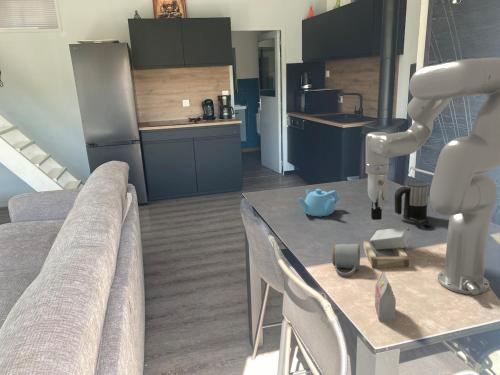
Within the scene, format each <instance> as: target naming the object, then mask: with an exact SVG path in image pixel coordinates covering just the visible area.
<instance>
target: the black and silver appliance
mask: <svg viewBox="0 0 500 375" xmlns="http://www.w3.org/2000/svg"><path fill="white" fill-rule="evenodd" d="M430 186H431V184H430V182H427V181H426V180H425V181H424V180H407V181H405V186H402V187H399V188H397V189H396V191H395V192H394V212H395V213H396V215H401V214H402V213H403V215H402V216H403V218H404V219H406V220H409V221H412V222H417V223H419V224H421V225H422V226H424V227H426V228H428V227H429V226H430V227H431V226H432V225H433V223H432V222H430V220H429V219H428V215H427V214H428V212H427V211H428V201H429V200H428V198H429V187H430ZM403 195H404V199H402V198H403ZM402 200H404V201H403V202H404V205H403V207H402V204H403V202H402ZM402 208H403V212H402Z"/></svg>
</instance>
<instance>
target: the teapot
mask: <svg viewBox="0 0 500 375" xmlns="http://www.w3.org/2000/svg"><path fill="white" fill-rule="evenodd" d="M305 191H306V192H305V193H306V197H305V199H304V198H303V197H299V198H297V200H298V202H299V204H300V207H301V208H302V211H303V212H304V213H305V214H306V215H307V214H308V215H307V216H310V215H311V216H310V217H314V216H317V217H316V218H321V217H322V216H324V217H328V216H330V214H331V215H332V214H333V213H334V212H335V209H336V207H335V206H336V204H337V203H338V201H339V197H338V193H337V191H336V190H334V189H333V190H331V191H330V190H329V191H328V192H327V191H325V190H323V189H321V188H317V189H315V190H313V191H311V190H310V189H306V190H305ZM318 216H319V217H318ZM322 218H323V217H322Z"/></svg>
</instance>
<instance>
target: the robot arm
mask: <svg viewBox="0 0 500 375" xmlns="http://www.w3.org/2000/svg"><path fill="white" fill-rule="evenodd" d="M408 89H409V92H410V94H411V96H412V97H413V98H412V99H411V100H410V101H409V102H408V104H407V106H406V112H407V115H408V117H410V119H411V120H413V121H414V122H413V123H412V124H411V125H410V126H409V128H408V129H407V130H406V131H400V132H393V133H387V132H385V131H372V132H369V133H367V134H366V135H365V174H367V195H368V197H369V199H370V204H371V209H370V210H371V211H370V212H371V214H370V216H371V217H370V218H371V219H372V220H373V221H377V220H378V221H379V220H382V219H383V218H382V216H383V215H382V211H383V210H382V209H383V208H382V207H383V201H384V203H389V202H388V201H389V190H388V188H389V186H388V184H389V183H388V174H389V167H390V166H389V165H390V164H389V162H390V160H389V159H390V158H397V157H400V156H407V155H411V154H414V153H415V152H417V151H418V150H420V149H421V148H422V146H424V144H425V143H426V142H427V141H428V140H429V139H430V137H431V136H432V133H433V130H434V121H435V119H436V118H437V117H438V116H439V115H440V114H441V113H442V111H443V110H444V109H446V107H447V106H448V105H449V104H450V102H451V101H452V100H453V99H454V98H467V97H476V96H477V97H478V96H485V95H486V99H485V100H484V103H482V105H481V106H480V108H479V109H478V111H477V112H476V115H475V118H474V122H473V125H472V127H471V129H470V133H469V134H468V135H467V136H461V137H457V138H453V139H452V140H450V141H448V142H447V143H446V144H445V145H444V146H443V148H442V149H441V151H440V153H439V156H438V158H437V162H436V166H435V169H434V173H433V176H432V181H431V184H430V189H429V203H430V204H431V207H432V209H433V210H434V211H435V212H436V213H438V214H439V215H443V216H447V217H449V219H448V220H449V221H448V226H447V238H446V248H445V249H446V250H445V264H444V270H442V271H439V273H438V275H437V281H438V283H439V284H440V285H442V287H444V288H445V289H448V290H449V291H452V292H455V293H458V294H465V295H473V296H474V295H475V296H476V295H481V294H484V293H486V292H488V291H489V290H490V282H489V280H488V279H487V278H486V277H485V276H484V275H485V267H486V258H487V248H488V240H489V233H490V225H491V219H492V216H493V211H494V209H495V205H496V203H497V197H498V187H497V184H496V181H495V180H494V179H493V178H492V177H491V176H489V175H488V174H485V173H486V172H490V171H493V170H496V169H498V168H499V167H500V57H483V58H467V59H465V58H464V59H458V60H452V61H448V62H442V63H439V64H433V65H425V66H422V67H421V68H418V70H416V71H415V72H414V73H413V74H412V76H411V78H410V81H409V84H408Z"/></svg>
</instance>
